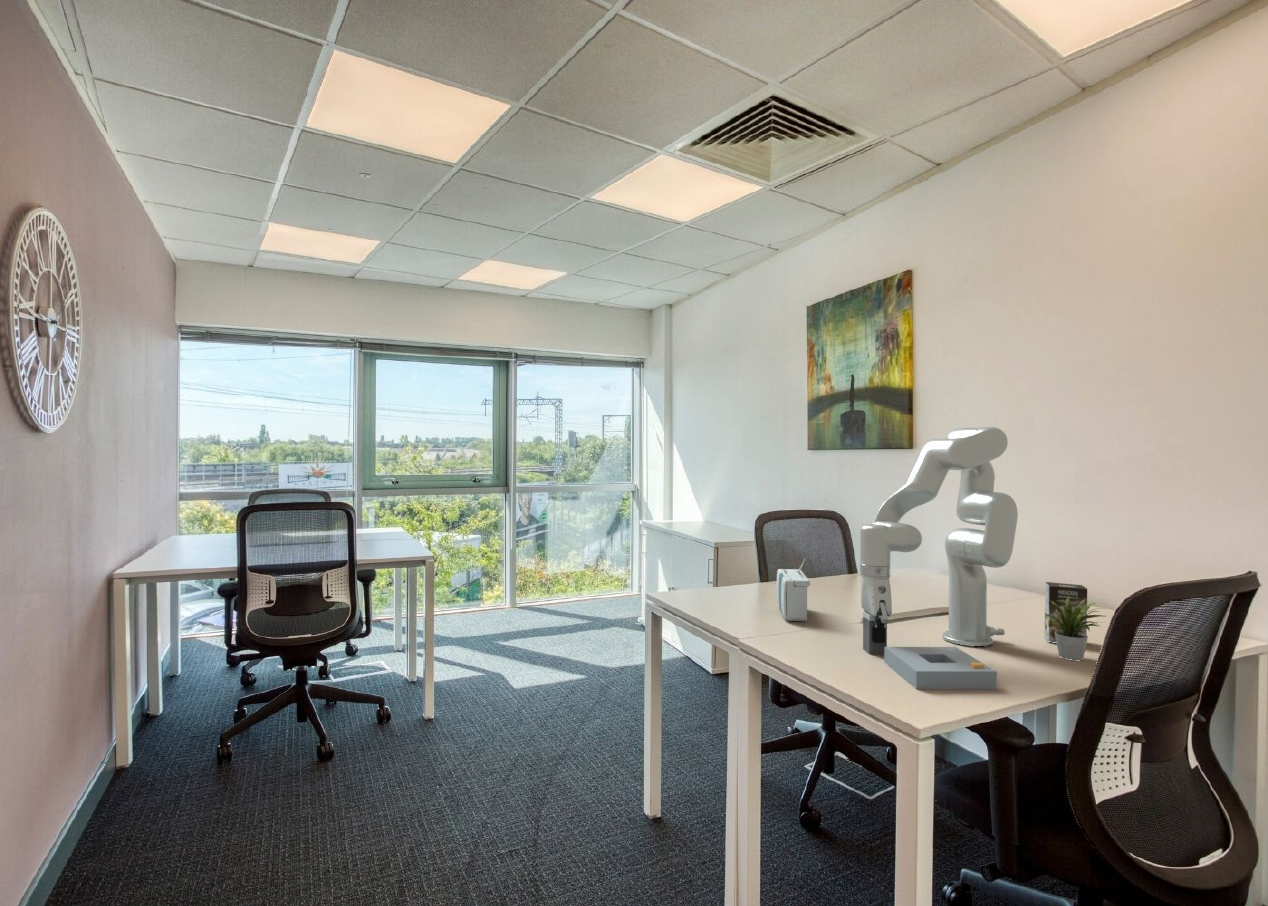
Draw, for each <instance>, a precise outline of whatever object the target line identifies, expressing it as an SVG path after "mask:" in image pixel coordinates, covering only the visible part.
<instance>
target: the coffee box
mask: <svg viewBox="0 0 1268 906" xmlns="http://www.w3.org/2000/svg"><path fill="white" fill-rule="evenodd" d="M1068 594H1069V596H1070V601H1071V604H1072V612H1073V611H1074V609H1075V608H1076V606H1077V605H1078V604H1079V603H1080V602H1081V601H1082V600H1084V599H1085V598H1086V599H1085V601H1084V602H1083V604H1082V606H1081V607H1080V608H1082V609H1083V608H1085V607H1086V606H1087V605H1088V588H1087V587H1086V586H1084V585H1082V584H1072V583H1062V582H1051V581H1045V595H1044V597H1045V598H1044V599H1045V600H1044V635H1045V637H1046V639H1047V640H1048V641H1051V642H1056V637H1055V631H1058V630H1062V628H1061V627H1060V626H1061V625H1060V624H1055V625H1060V626H1053V625H1054V624H1053V621H1056V620H1054V619H1053V618H1051V617H1048V616H1046V614H1050V615H1053V616H1055V617H1056V618H1057V619H1059V620H1060V622H1061V623H1062V621H1061V620H1062V618H1061V616H1060V614H1059V612H1058V610H1057V609H1056V608H1055V606H1053V605H1052V603H1051V601H1053V602H1054V603H1056V604H1057V605H1058V607H1059V608H1060V609H1061V610H1062V611H1063V614H1064V616H1065V613H1064V611H1065V609H1064V607H1063V605H1064V606H1065V602H1066V599H1067V598H1068ZM1050 600H1051V601H1050ZM1056 600H1057V601H1056ZM1059 601H1060V602H1061V603H1063V605H1062V604H1061V603H1060V602H1059ZM1048 604H1049V605H1050V606H1049V605H1048ZM1052 608H1053V609H1054V610H1055V611H1056V612H1057V613H1058V614H1057V613H1056V612H1055V611H1054V610H1053V609H1052ZM1082 609H1081V610H1082ZM1087 611H1088V610H1087ZM1087 611H1086V612H1087ZM1086 612H1085V614H1084V615H1082V616H1086V615H1087V614H1088V612H1087V613H1086ZM1058 615H1059V616H1060V617H1059V616H1058ZM1060 618H1061V619H1060ZM1086 621H1088V619H1085V620H1083V621H1082V623H1083V622H1086ZM1056 622H1057V621H1056ZM1082 623H1081V624H1082ZM1052 624H1053V625H1052ZM1087 624H1088V623H1086V624H1084V625H1087ZM1084 628H1085V627H1084ZM1084 628H1082V629H1084ZM1082 629H1081V630H1082ZM1081 630H1079V631H1078V632H1080V631H1081ZM1087 630H1088V629H1087V628H1085V629H1084V630H1082V631H1081V632H1080V633H1083V634H1085V635H1087V636H1088V634H1087ZM1045 637H1044V638H1045ZM1046 639H1045V640H1046ZM1047 640H1046V641H1047Z"/></svg>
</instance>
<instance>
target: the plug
mask: <svg viewBox="0 0 1268 906" xmlns="http://www.w3.org/2000/svg"><path fill="white" fill-rule="evenodd" d="M877 615H880V613H877ZM878 619H880V618H877V621H878ZM872 627H874V623H873V615H871V614H870V613H868V612H864V611H862V650H864V651H865V652H866V653H867V654H868V655H884V649H885V647H888V645H887V644H888V637H887V636H888V621H887V622H886V628H885V643H874V642H872Z"/></svg>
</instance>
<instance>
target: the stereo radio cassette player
mask: <svg viewBox="0 0 1268 906" xmlns="http://www.w3.org/2000/svg"><path fill="white" fill-rule="evenodd" d="M806 559H807V558H806V557H804V558H803V561H802V562H801V565H800V567H799V568H797V569H796V568H795V569H794V568H791V569H790V568H789V569H788V568H787V569H786V568H779V569H777V571H776V602H777V605H778V607H779V610H780V611H781V613H782V616H783V618H784V619H785V620H786V621H787V622H792V621H793V622H804V621H805V622H807V620H808V619H807V618H808V587H810V585H811V582H810V579H809V578H808V577H807V575H806V574H805V573H804V572H803V570H802V567H803V565H804V563H805V561H806Z"/></svg>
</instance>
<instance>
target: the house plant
mask: <svg viewBox="0 0 1268 906" xmlns="http://www.w3.org/2000/svg"><path fill="white" fill-rule="evenodd" d="M1085 599H1086V598H1085ZM1085 599H1084V600H1082V601H1081V602H1080V603H1079V604H1078V605H1077V606H1076V608H1075V609H1074V611H1073V612H1072V604H1071V601H1070V596H1069V594H1068V598H1067V599H1066V602H1065V606H1064V605H1063V603H1061V602H1060V601H1059V602H1060V603H1061V604H1062V605H1063V607H1064V609H1065V611H1064V613H1065V616H1064V614H1063V611H1062V610H1061V609H1060V608H1059V607H1058V605H1057V604H1056V603H1054V602H1053V601H1051V600H1050V601H1051V603H1052V605H1053V606H1055V608H1056V609H1057V610H1058V612H1059V614H1060V616H1061V618H1062V620H1061V621H1062V623H1061V622H1060V620H1059V619H1057V618H1056V617H1055V616H1053V615H1050V614H1046V616H1048V617H1051V618H1053V619H1054V620H1056V621H1057V622H1056V621H1053V624H1054V625H1053V624H1052V625H1053V626H1060V625H1061V626H1060V627H1061V628H1062V630H1058V631H1055V637H1056V642H1057V643H1056V646H1057V652H1058V657H1059V656H1061V657H1063V658H1067V659H1072V660H1082V659H1083V660H1084V657H1085V652H1086V648H1087V641H1088V634H1087V635H1085V634H1083V633H1080V632H1081V631H1082V630H1084V629H1085V628H1087V630H1088V631H1089V632H1091V630H1090V627H1093V626H1094V627H1098V628H1100V624H1098V621H1090V620H1088V619H1092V618H1096V617H1097V618H1098V617H1106V615H1101V614H1092V613H1095V612H1096V613H1097V612H1099V613H1100V612H1101V611H1099V610H1106V608H1103V607H1101V608H1097V610H1096V608H1092V609H1090V608H1091V607H1092V606H1094V605H1095V604H1096V602H1095V603H1090V604H1087V606H1086V607H1085V608H1083V609H1082V608H1080V607H1081V606H1082V604H1083V602H1084V601H1085ZM1056 601H1057V600H1056ZM1048 605H1049V604H1048ZM1049 606H1050V605H1049ZM1052 609H1053V608H1052ZM1081 609H1082V610H1081ZM1089 609H1090V610H1089ZM1053 610H1054V609H1053ZM1054 611H1055V610H1054ZM1086 611H1087V612H1086ZM1055 612H1056V611H1055ZM1085 612H1086V613H1087V615H1086V616H1082V615H1084V614H1085ZM1056 613H1057V612H1056ZM1057 614H1058V613H1057ZM1058 616H1059V615H1058ZM1060 616H1059V617H1060ZM1061 618H1060V619H1061ZM1085 619H1087V621H1086V622H1083V623H1082V621H1083V620H1085ZM1081 623H1082V624H1081ZM1086 623H1087V625H1084V624H1086ZM1102 623H1103V624H1104V622H1103V621H1102ZM1055 624H1060V625H1055ZM1084 627H1085V628H1084ZM1082 628H1084V629H1082ZM1081 629H1082V630H1081ZM1079 630H1081V631H1080V632H1078V631H1079Z"/></svg>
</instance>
